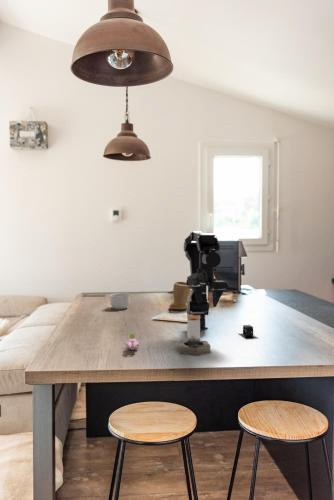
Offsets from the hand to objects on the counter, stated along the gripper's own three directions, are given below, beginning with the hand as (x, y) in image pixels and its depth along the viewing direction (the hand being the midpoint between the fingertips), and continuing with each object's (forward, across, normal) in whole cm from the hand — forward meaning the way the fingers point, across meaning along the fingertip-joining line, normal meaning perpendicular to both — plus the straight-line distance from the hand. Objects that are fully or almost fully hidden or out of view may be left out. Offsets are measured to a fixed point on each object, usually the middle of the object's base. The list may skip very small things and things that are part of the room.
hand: (206, 305), depth 169 cm
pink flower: (+13, -4, -32) cm, 35 cm away
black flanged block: (+14, +7, +16) cm, 22 cm away
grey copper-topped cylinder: (+13, +11, -16) cm, 23 cm away
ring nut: (+13, +11, -16) cm, 23 cm away
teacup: (+13, -82, +8) cm, 83 cm away
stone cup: (+13, -60, +34) cm, 70 cm away
